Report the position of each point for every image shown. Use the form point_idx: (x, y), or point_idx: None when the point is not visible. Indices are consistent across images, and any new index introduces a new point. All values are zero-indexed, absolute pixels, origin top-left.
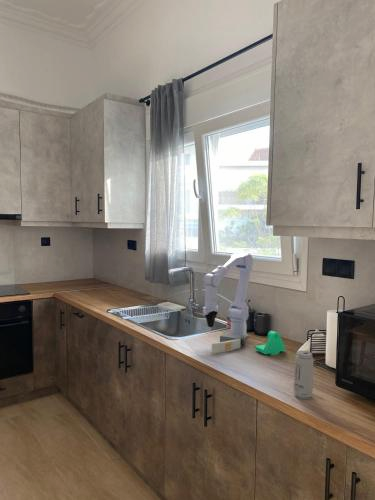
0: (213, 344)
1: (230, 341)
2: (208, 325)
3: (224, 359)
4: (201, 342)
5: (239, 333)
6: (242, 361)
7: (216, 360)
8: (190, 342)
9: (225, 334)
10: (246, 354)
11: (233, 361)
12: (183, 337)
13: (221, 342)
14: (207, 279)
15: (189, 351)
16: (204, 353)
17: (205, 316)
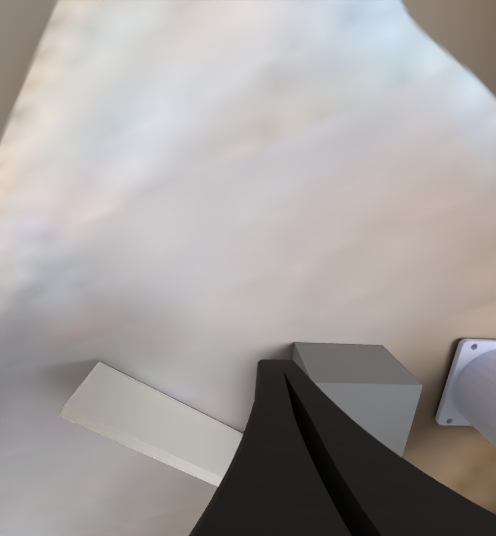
0: (63, 416)
1: (208, 479)
2: (258, 376)
3: (51, 445)
4: (297, 214)
5: (482, 431)
6: (81, 515)
7: (6, 418)
8: (261, 133)
9: (365, 404)
10: (195, 500)
11: (52, 486)
12: (376, 6)
13: (141, 447)
14: None
15: (51, 215)
16: (77, 320)
17: (215, 496)
